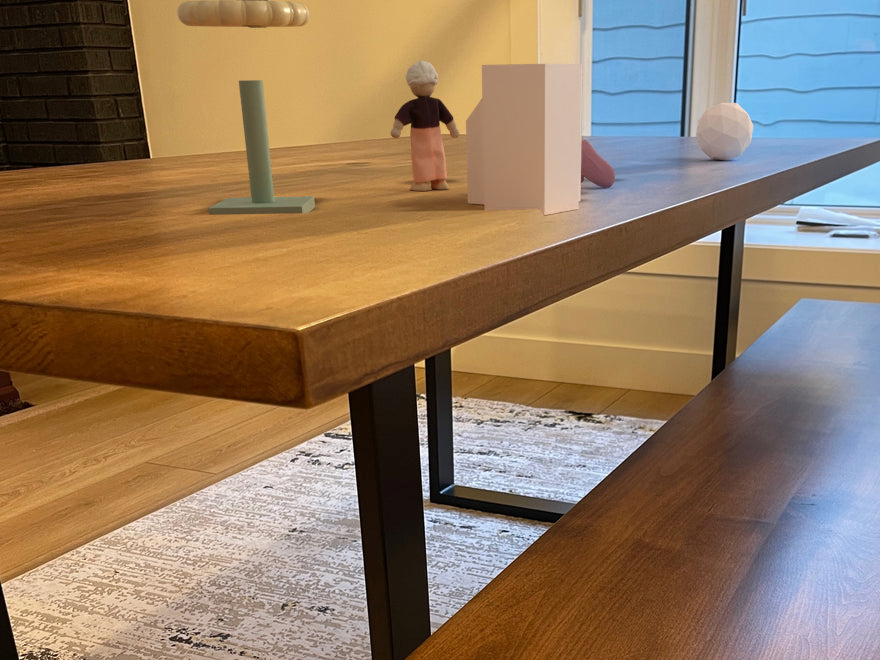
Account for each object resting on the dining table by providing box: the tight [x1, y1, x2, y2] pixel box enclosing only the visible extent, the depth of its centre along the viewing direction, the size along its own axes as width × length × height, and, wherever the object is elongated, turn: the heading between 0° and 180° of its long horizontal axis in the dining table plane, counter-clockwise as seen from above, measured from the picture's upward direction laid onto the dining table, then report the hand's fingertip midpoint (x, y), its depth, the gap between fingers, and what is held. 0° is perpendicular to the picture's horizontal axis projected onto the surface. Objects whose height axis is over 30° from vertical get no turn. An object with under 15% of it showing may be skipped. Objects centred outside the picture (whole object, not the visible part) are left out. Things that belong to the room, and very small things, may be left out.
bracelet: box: [176, 0, 311, 28], centre depth 84 cm, size 11×11×2 cm
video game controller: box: [581, 136, 616, 189], centre depth 109 cm, size 10×5×7 cm, turn 27°
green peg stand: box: [207, 79, 316, 216], centre depth 88 cm, size 8×8×11 cm
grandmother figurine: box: [390, 60, 460, 192], centre depth 105 cm, size 8×4×13 cm, turn 130°
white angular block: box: [465, 63, 584, 216], centre depth 91 cm, size 11×11×12 cm
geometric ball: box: [695, 102, 755, 161], centre depth 140 cm, size 8×8×8 cm
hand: (254, 25), depth 88 cm, fingers closed on bracelet, 2 cm apart
